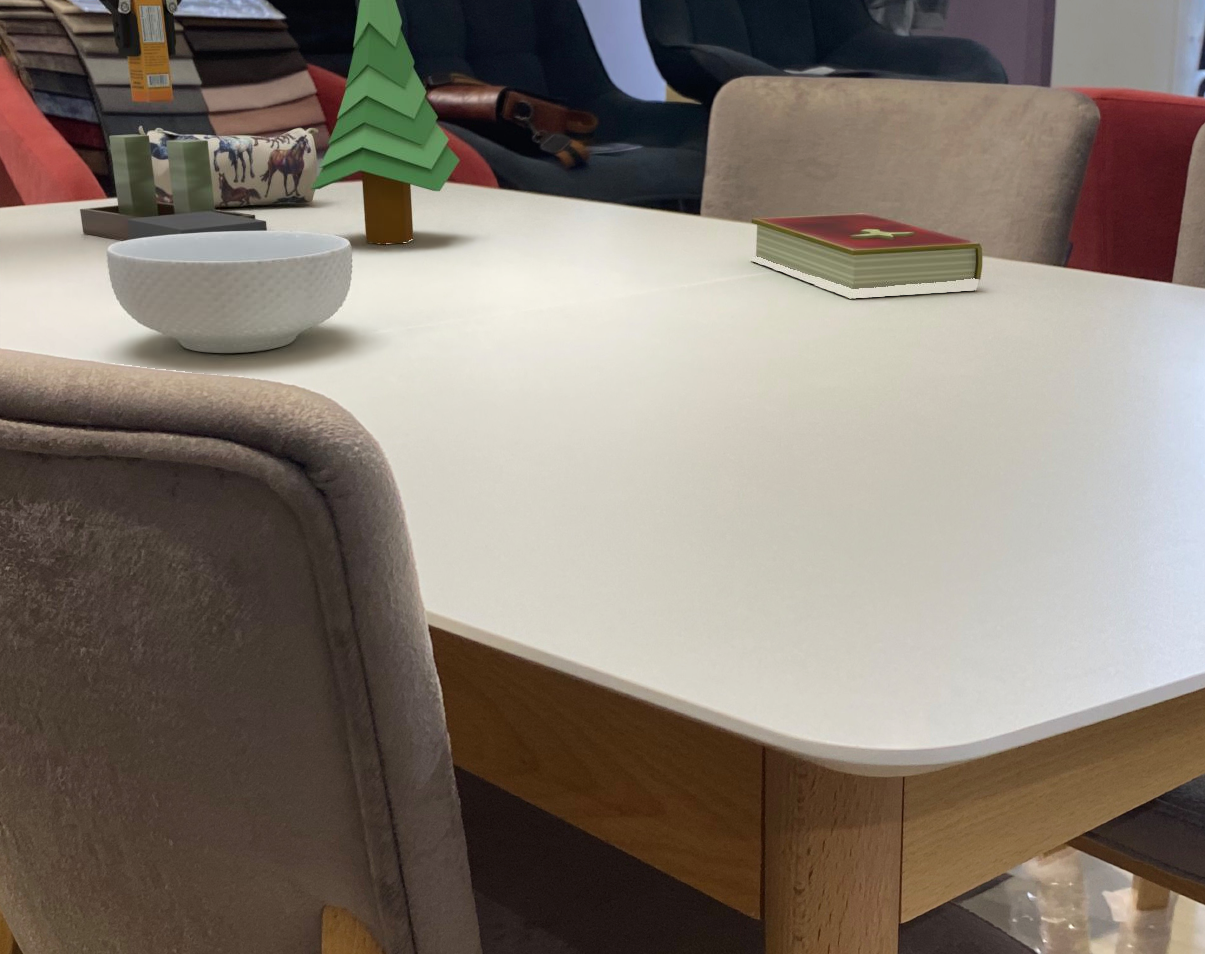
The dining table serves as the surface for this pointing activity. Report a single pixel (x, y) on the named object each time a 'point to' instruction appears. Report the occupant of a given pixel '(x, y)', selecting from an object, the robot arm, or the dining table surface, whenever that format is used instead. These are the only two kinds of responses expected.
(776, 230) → the hardcover book
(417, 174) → the decorative tree
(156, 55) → the supplement box
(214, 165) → the pencil case
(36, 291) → the dining table surface
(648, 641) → the dining table surface
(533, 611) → the dining table surface
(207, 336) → the cereal bowl
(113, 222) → the book rack
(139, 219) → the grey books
